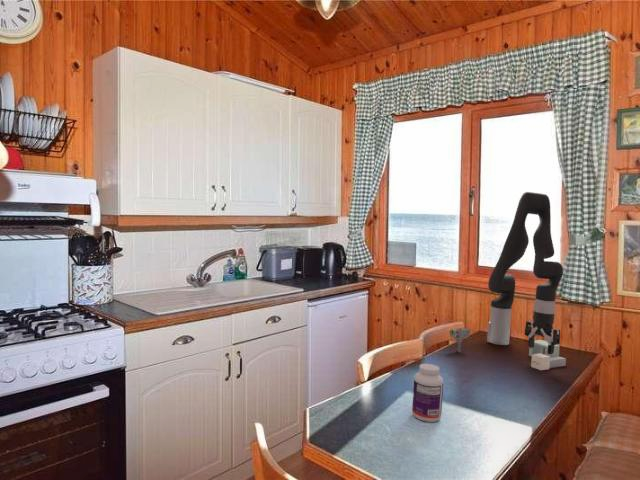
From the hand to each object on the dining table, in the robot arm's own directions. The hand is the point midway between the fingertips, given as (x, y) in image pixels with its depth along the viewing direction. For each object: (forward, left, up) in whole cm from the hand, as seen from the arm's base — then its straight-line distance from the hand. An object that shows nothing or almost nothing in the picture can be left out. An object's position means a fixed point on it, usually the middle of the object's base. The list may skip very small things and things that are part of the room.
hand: (540, 350), depth 177 cm
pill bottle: (-18, -76, -7) cm, 79 cm away
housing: (0, +15, -7) cm, 16 cm away
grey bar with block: (+3, +3, -6) cm, 8 cm away
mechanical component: (-31, -3, -7) cm, 32 cm away
